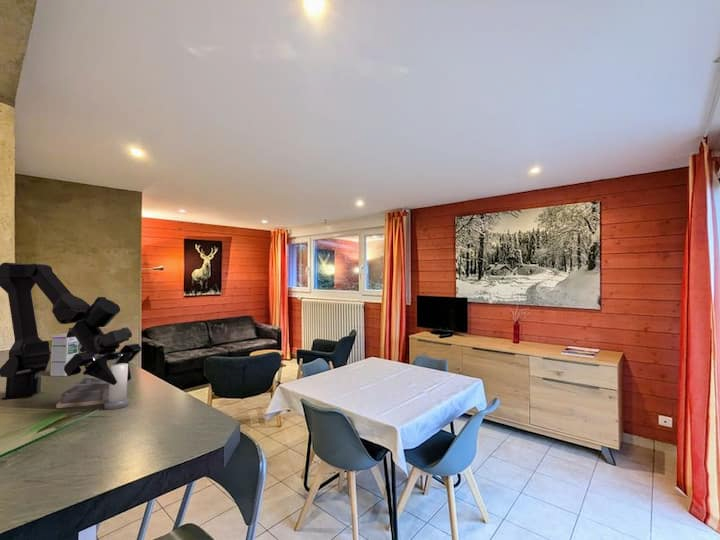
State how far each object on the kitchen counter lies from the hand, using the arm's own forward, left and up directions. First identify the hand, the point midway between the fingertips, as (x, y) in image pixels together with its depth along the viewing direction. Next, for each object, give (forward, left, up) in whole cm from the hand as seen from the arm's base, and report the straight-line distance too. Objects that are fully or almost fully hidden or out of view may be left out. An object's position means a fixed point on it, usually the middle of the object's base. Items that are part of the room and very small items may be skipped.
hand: (122, 381), depth 94 cm
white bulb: (-1, +1, -7) cm, 7 cm away
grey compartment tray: (-10, +13, -7) cm, 18 cm away
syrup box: (-26, +46, -7) cm, 54 cm away
